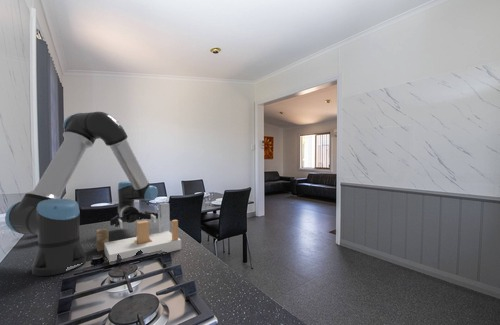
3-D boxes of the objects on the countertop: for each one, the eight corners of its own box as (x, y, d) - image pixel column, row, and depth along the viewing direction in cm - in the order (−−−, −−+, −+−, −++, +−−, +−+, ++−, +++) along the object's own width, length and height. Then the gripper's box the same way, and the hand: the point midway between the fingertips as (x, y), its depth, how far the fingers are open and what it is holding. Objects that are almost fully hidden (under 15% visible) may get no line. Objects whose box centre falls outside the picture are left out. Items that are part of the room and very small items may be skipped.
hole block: (109, 266, 87) (108, 232, 86) (104, 252, 99) (103, 223, 99) (181, 249, 102) (180, 220, 102) (168, 239, 115) (168, 213, 115)
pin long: (161, 238, 117) (160, 204, 117) (159, 236, 120) (158, 203, 120) (170, 236, 119) (169, 203, 119) (167, 234, 123) (166, 202, 122)
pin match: (139, 253, 98) (138, 223, 98) (137, 250, 101) (136, 221, 101) (149, 251, 100) (149, 222, 100) (147, 248, 104) (146, 220, 103)
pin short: (97, 251, 101) (97, 231, 101) (96, 248, 105) (96, 229, 105) (108, 248, 104) (108, 230, 104) (107, 246, 107) (107, 227, 107)
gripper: (155, 217, 132) (168, 226, 114) (101, 225, 117) (106, 236, 100) (155, 203, 131) (167, 209, 114) (101, 209, 117) (105, 218, 100)
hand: (139, 222), depth 107 cm, fingers open, 13 cm apart
